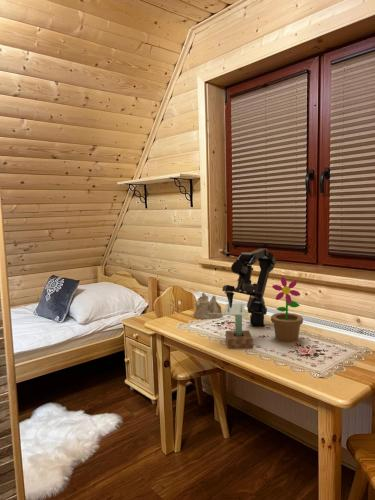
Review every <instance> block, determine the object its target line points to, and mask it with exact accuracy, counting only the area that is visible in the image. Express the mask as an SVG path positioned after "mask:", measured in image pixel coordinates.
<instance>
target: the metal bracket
mask: <svg viewBox="0 0 375 500" xmlns="http://www.w3.org/2000/svg"><path fill="white" fill-rule="evenodd" d="M245 308H246V306H245V303H232V308H230V306H229V301H228V303H226V304H225V311H222V314H223V316H235V315H238V314H239V315H242V316H243V317H244V316H245V317H246V316H249V313H248V311H247V312H245Z"/></svg>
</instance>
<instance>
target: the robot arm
mask: <svg viewBox="0 0 375 500" xmlns="http://www.w3.org/2000/svg"><path fill="white" fill-rule="evenodd" d="M235 260H236V261H235V262H234V261H233V263H232V265H231V267H230V269H231V272H232V273H234V274H235V275H238V278H237V286H236V287H235V286H233V285H229V284H225V285H223V287H222V288H221V291H222V292H224V294H226V297H227V300H228V302H229V306H230V308H232V304H233V301H234V296H235V293H237V294H240V295H241V294H242V295H246V296H249V297H248V301H247V303H246V308H247V312H248V314H250V315H249V324H250V325H251V326H252V327H265V315H267V312H268V309H267V306H266V305H265V304H266V301H265V299H264V295H265V291H266V287H267V283H268V279H269V275H270V273H271V272H272V271H273V270H274V268H275V265H276V264H277V258H276V257H275V254H273V253H272V252H270V250H269V249H268V248H264V247H263V248H262V247H260V248H258V249H255V250H253V251H251V252H247V251H243V252H240V254H239V256H238V258H237V259H235ZM257 261H258V265H259V269H260V271H259V274H258V278H257V282H256V283H252V280H251V279H252V273H253V271H254V268H253V265H255V264H256V263H257Z"/></svg>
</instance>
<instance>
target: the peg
mask: <svg viewBox="0 0 375 500" xmlns="http://www.w3.org/2000/svg"><path fill="white" fill-rule="evenodd" d="M234 319H235V321H234V323H235V324H234V325H235V326H234V327H235V329H234V331H235V336H242V331H243V315H239V314H238V315H234Z"/></svg>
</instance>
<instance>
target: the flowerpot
mask: <svg viewBox="0 0 375 500" xmlns="http://www.w3.org/2000/svg"><path fill="white" fill-rule="evenodd" d="M280 284H281V285H282V286H283V287H282V286H281V285H278V284H272V287H271V288H272V289H274V290H275V291H279V293H278V294H276V296H275V298H274V299H275V300H276V301H278V300H281V299H282V298H283V297H284V295H285V306H279V307H277V308H276V310H277V311H279V312H278V313H273V314H272V315H271V316H270V322H271V323H272V324H273V328H274V335H275V339H276V340H277V341H279V342H283V343H294V342H297V341H298V340H299V336H300V328H301V325H302V324H303V323H304V318H303V316H302V315H299V314H297V313H291V312H289V307H291V308H299V307H300V304H299V303H298V302H297V301H294V300H292V297H291V296H295V297H299V296H301V293H300V292H299V290H295V289H294V287H295V286H296V285H297V284H298V281H297V280H296V279H295V280H292V281H290V283H289V284H288V282H287V279H286V278H285V277H284V276H281V278H280ZM287 285H288V286H287ZM280 291H281V292H280Z"/></svg>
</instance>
